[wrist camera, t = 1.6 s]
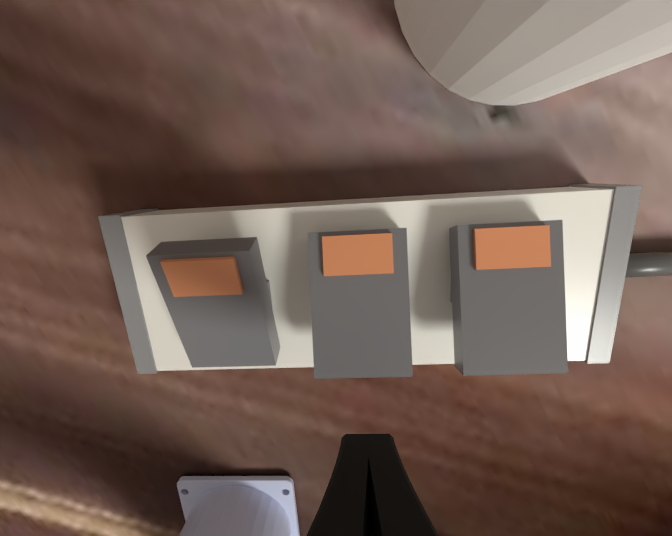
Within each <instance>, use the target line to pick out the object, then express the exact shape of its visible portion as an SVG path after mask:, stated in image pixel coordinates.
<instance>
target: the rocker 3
mask: <svg viewBox="0 0 672 536" xmlns="http://www.w3.org/2000/svg"><path fill="white" fill-rule="evenodd" d="M449 239H450V263H451V288H452V313H453V338H454V362H455V367H456V368H457V369H458V370H459V371H460V372H461V373H462V374H463V375H509V374H555V373H568V359H567V332H566V304H565V277H564V250H563V222H562V220H548V221H528V222H509V223H489V224H469V225H456V226H454V227H451V228H449Z"/></svg>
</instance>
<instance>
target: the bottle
mask: <svg viewBox="0 0 672 536" xmlns="http://www.w3.org/2000/svg"><path fill="white" fill-rule="evenodd" d="M394 5H395V9H396V13H397V16H398V20H399V23H400V27H401V30H402V33H403V35H404V37H405V39H406V41H407V43H408V45H409V47H410V49H411V51H412V53H413V55H414V56H415V57H416V59H417V60H418V61H419V62H420V64H421V65H422V66H423V67H424V69H425V70H426V71H427V72H428V74H429V75H430V76H432V77H433V78H434V79H435V80H437V81H438V82H439V83H440V84H442V85H443V86H444V87H445V88H446V89H448V90H450V91H452V92H454V93H456V94H458V95H460V96H462V97H464V98H466V99H468V100H472V101H476V102H481V103H485V104H489V105H519V104H524V103H529V102H535V101H539V100H542V99H545V98H548V97H550V96H553V95H556V94H559V93H561V92H564V91H567V90H570V89H572V88H575V87H578V86H581V85H583V84H586V83H589V82H592V81H594V80H597V79H600V78H603V77H605V76H608V75H611V74H614V73H616V72H619V71H622V70H625V69H627V68H630V67H633V66H636V65H638V64H641V63H644V62H647V61H649V60H652V59H655V58H657V57H660V56H663V55H666V54H668V53H671V52H672V0H394Z"/></svg>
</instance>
